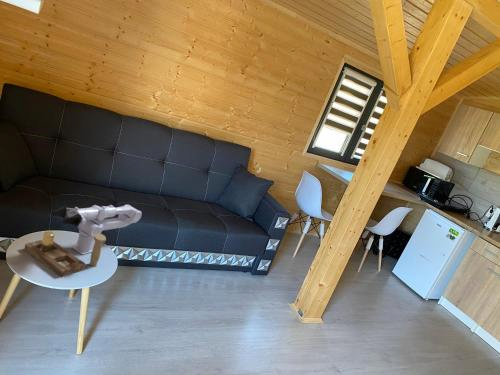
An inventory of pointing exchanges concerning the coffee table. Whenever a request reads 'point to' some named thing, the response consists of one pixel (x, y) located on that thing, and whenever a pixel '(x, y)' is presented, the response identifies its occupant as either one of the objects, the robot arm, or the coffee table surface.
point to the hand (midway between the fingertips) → (57, 217)
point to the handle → (97, 248)
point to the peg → (47, 241)
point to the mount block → (55, 258)
